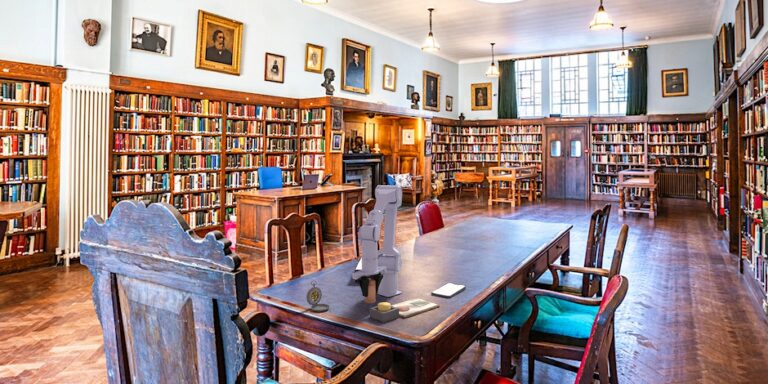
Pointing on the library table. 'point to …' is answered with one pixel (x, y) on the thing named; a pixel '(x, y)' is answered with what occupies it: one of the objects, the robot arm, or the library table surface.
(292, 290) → the library table surface
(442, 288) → the phone case
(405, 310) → the colouring board
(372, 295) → the brown cylinder
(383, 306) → the button
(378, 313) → the button base
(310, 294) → the pocket watch
